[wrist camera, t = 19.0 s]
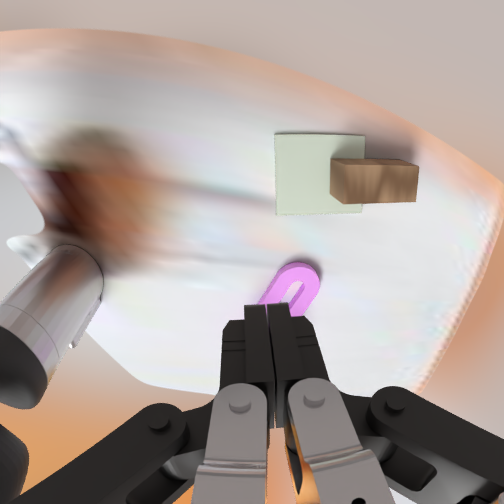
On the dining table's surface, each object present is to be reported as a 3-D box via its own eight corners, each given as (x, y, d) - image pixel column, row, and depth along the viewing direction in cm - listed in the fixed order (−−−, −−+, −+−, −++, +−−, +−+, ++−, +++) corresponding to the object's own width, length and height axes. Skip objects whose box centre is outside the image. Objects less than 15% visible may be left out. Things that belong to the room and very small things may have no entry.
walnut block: (329, 194, 34) (397, 192, 35) (343, 204, 30) (415, 201, 31) (330, 158, 32) (400, 159, 33) (344, 164, 29) (419, 166, 29)
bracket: (274, 344, 44) (279, 379, 38) (239, 331, 43) (239, 367, 36) (325, 272, 39) (340, 303, 33) (288, 254, 38) (297, 284, 32)
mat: (360, 212, 36) (361, 213, 35) (276, 214, 36) (276, 215, 35) (363, 135, 32) (365, 136, 32) (274, 134, 32) (274, 134, 31)
